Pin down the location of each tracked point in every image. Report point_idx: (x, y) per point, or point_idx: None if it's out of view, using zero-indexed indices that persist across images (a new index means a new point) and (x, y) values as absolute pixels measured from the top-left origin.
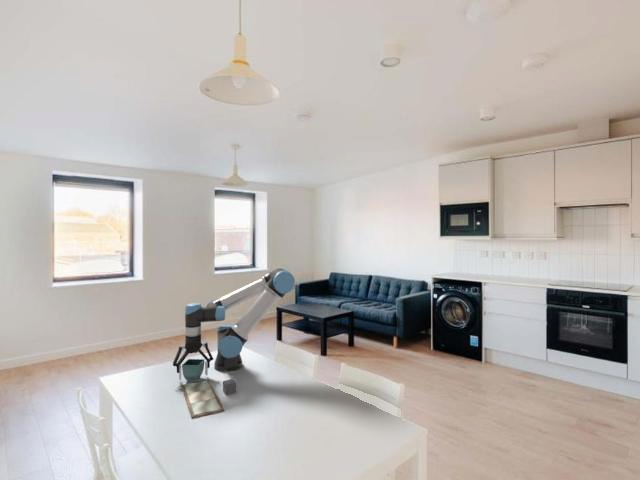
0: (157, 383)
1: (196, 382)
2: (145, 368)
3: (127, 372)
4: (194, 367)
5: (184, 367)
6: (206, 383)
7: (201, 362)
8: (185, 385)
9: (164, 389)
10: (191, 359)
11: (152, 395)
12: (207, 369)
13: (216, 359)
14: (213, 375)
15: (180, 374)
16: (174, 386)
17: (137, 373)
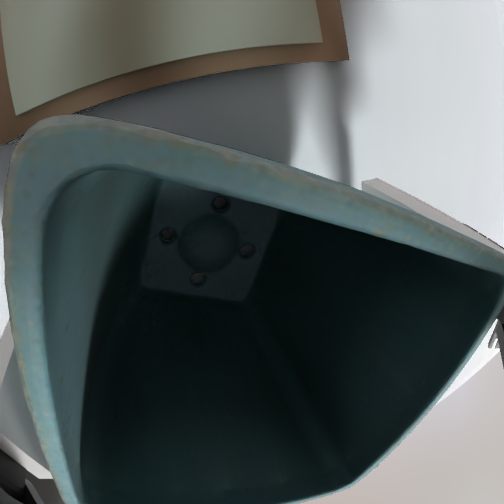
0: (475, 215)
1: (155, 61)
2: (443, 398)
3: (492, 356)
4: (240, 152)
5: (465, 235)
6: (20, 15)
7: (40, 426)
8: (306, 11)
9: (457, 71)
10: (309, 495)
11: (496, 16)
12: (7, 326)
13: (44, 494)
14: (7, 313)
15: (414, 204)
16: (399, 96)
17: (480, 352)
